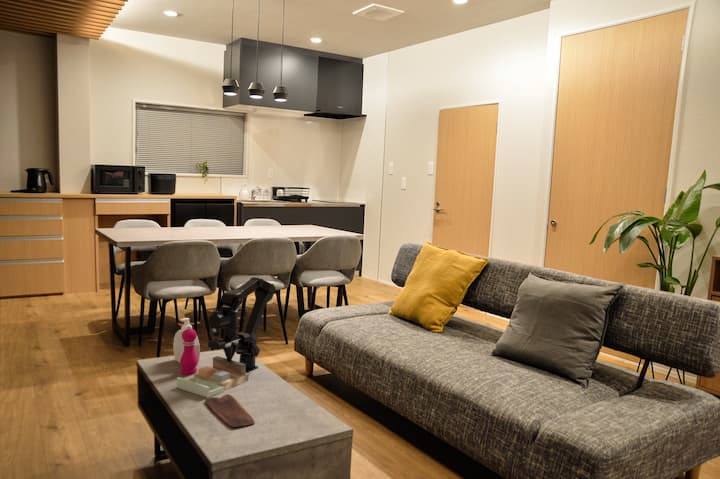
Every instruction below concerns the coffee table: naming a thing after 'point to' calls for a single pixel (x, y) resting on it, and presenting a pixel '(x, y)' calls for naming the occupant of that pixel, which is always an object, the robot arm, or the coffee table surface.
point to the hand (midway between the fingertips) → (229, 361)
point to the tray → (199, 387)
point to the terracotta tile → (206, 371)
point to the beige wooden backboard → (228, 383)
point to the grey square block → (221, 376)
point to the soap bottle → (178, 342)
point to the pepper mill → (189, 352)
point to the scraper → (229, 366)
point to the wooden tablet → (230, 410)
